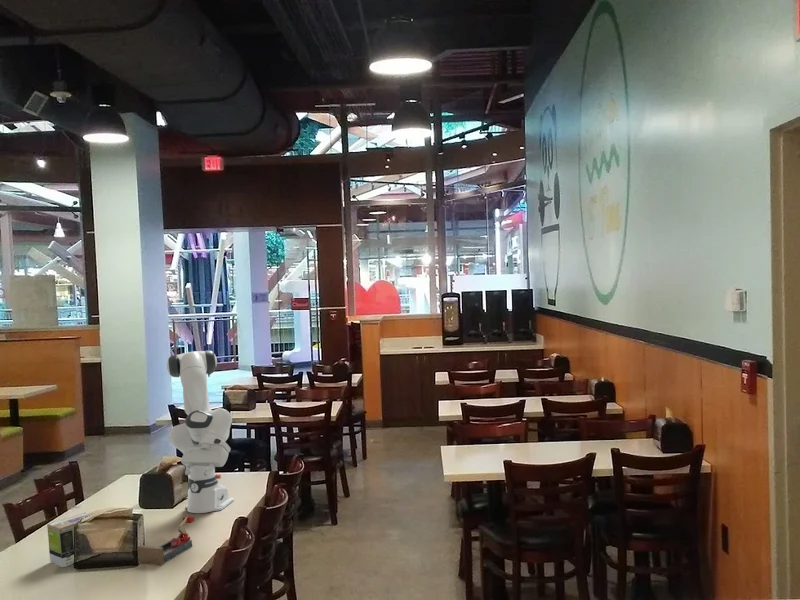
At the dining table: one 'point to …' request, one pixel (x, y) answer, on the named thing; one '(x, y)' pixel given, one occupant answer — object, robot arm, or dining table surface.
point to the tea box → (63, 540)
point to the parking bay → (160, 552)
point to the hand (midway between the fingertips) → (196, 474)
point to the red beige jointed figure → (182, 533)
